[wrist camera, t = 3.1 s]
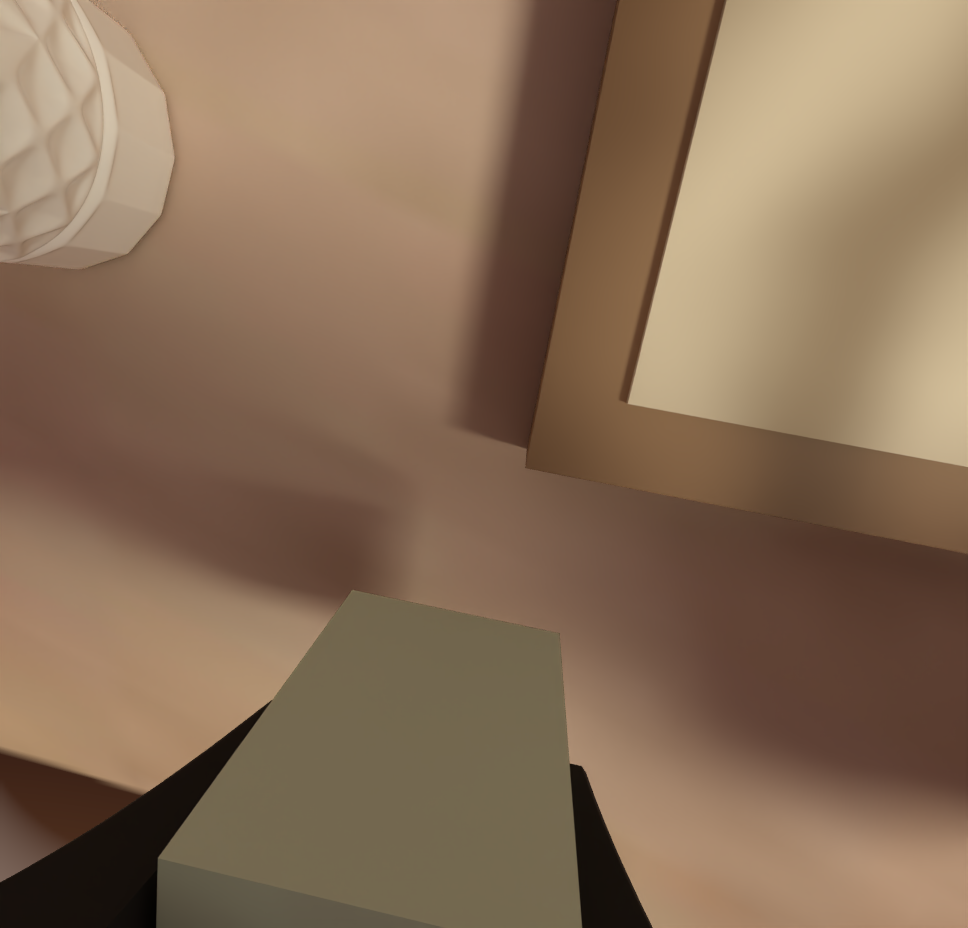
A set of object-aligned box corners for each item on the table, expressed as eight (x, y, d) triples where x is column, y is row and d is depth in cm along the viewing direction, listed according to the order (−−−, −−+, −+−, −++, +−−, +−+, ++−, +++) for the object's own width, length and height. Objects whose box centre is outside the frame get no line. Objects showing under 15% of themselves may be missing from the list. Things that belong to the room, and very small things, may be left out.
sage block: (559, 633, 11) (585, 961, 5) (518, 802, 12) (502, 1228, 6) (352, 589, 11) (158, 858, 6) (331, 760, 12) (150, 1132, 7)
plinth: (1333, -79, 11) (1551, -193, 8) (1035, 546, 14) (1132, 588, 12) (650, -167, 11) (679, -295, 9) (526, 449, 15) (525, 470, 13)
